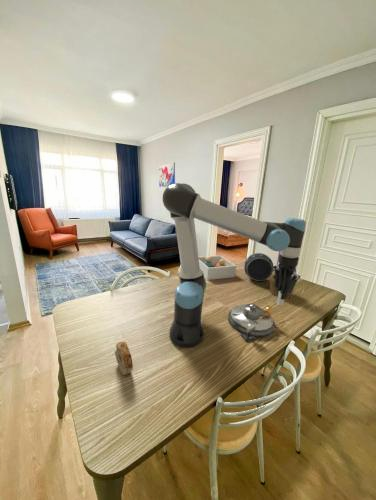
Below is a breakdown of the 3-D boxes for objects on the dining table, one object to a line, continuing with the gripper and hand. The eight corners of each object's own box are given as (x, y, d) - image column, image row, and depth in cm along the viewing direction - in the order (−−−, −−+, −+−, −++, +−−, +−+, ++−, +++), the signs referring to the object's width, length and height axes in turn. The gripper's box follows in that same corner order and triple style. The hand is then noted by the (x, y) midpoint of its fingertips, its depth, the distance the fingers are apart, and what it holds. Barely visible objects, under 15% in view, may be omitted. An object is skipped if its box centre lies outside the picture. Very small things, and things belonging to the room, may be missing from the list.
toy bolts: (226, 269, 171) (227, 254, 167) (225, 277, 155) (227, 261, 151) (204, 266, 174) (205, 252, 171) (201, 274, 158) (202, 258, 154)
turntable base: (244, 341, 90) (245, 338, 90) (220, 313, 110) (220, 309, 109) (284, 332, 98) (285, 328, 97) (254, 307, 118) (255, 304, 117)
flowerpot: (267, 286, 145) (275, 244, 136) (290, 291, 139) (300, 248, 130) (265, 294, 132) (273, 249, 123) (290, 301, 126) (300, 254, 118)
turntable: (235, 330, 94) (237, 318, 92) (227, 306, 113) (228, 295, 111) (279, 332, 94) (282, 320, 92) (264, 307, 113) (266, 297, 111)
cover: (249, 321, 98) (251, 311, 97) (239, 311, 105) (241, 302, 104) (263, 318, 101) (265, 308, 99) (253, 309, 108) (254, 300, 107)
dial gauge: (245, 341, 91) (248, 327, 88) (240, 335, 94) (242, 321, 92) (255, 339, 92) (257, 324, 90) (249, 333, 96) (252, 319, 94)
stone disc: (135, 376, 71) (134, 353, 68) (124, 382, 69) (123, 357, 66) (124, 356, 79) (123, 334, 76) (114, 360, 77) (113, 338, 74)
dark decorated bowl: (272, 284, 147) (277, 257, 141) (243, 280, 151) (246, 254, 145) (269, 278, 157) (274, 253, 151) (242, 275, 161) (245, 250, 155)
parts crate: (207, 280, 148) (208, 268, 146) (194, 267, 170) (195, 257, 167) (234, 276, 156) (236, 265, 154) (219, 265, 178) (220, 255, 175)
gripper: (309, 259, 84) (297, 310, 91) (284, 250, 96) (276, 296, 102) (294, 261, 81) (284, 313, 88) (271, 251, 93) (263, 298, 100)
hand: (279, 304), depth 95 cm, fingers closed
